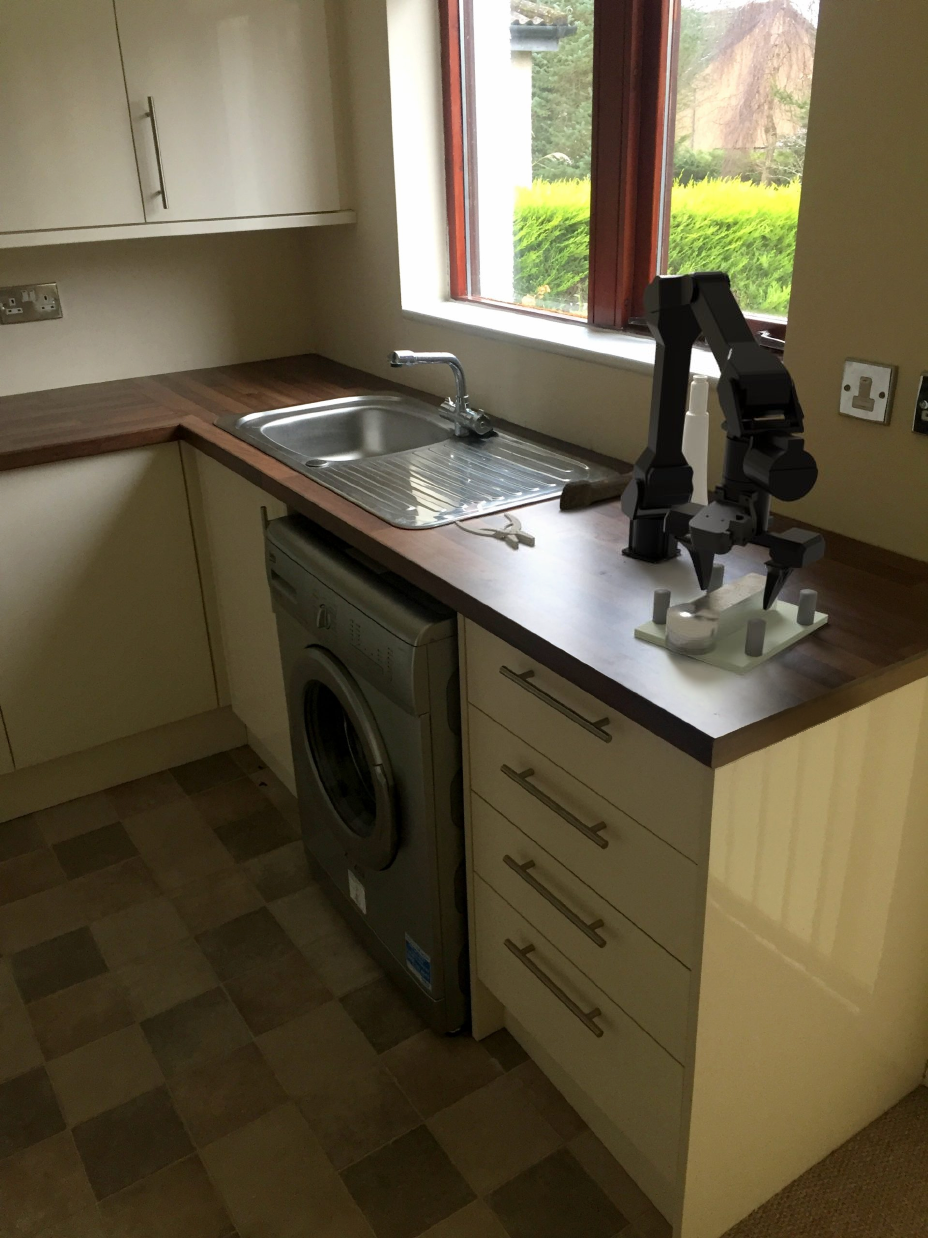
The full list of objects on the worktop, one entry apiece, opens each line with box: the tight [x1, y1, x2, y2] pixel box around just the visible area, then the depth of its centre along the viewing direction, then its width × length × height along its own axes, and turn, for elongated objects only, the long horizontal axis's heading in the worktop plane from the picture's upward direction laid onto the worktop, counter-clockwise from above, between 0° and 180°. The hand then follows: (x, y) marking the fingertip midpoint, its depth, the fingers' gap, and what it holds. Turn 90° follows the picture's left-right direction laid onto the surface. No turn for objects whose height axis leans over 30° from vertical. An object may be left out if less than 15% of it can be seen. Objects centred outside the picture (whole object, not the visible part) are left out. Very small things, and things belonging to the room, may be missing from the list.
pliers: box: [455, 512, 536, 550], centre depth 160 cm, size 10×2×15 cm
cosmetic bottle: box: [682, 374, 710, 506], centre depth 165 cm, size 6×6×22 cm
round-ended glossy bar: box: [665, 572, 779, 656], centre depth 123 cm, size 6×19×4 cm, turn 134°
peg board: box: [633, 562, 829, 676], centre depth 125 cm, size 15×20×5 cm
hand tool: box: [559, 469, 634, 511], centre depth 175 cm, size 19×4×5 cm, turn 124°
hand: (734, 599), depth 124 cm, fingers open, 8 cm apart
